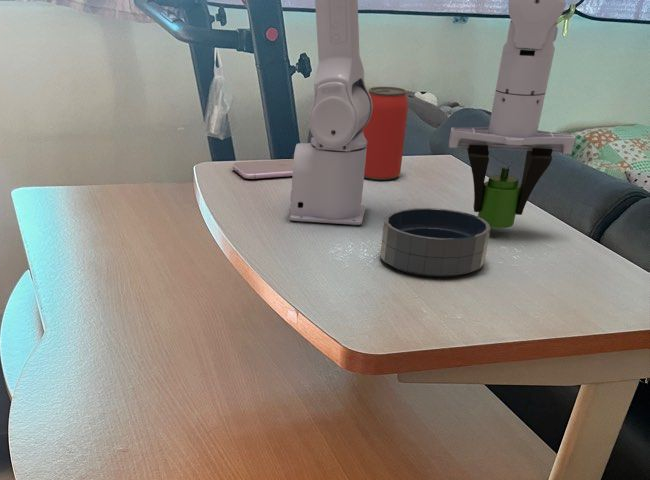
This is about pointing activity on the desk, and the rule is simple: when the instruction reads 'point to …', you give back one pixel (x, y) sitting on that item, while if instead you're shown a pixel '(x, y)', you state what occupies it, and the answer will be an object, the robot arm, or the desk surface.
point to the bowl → (434, 242)
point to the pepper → (500, 200)
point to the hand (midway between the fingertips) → (497, 211)
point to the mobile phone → (265, 169)
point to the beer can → (385, 133)
